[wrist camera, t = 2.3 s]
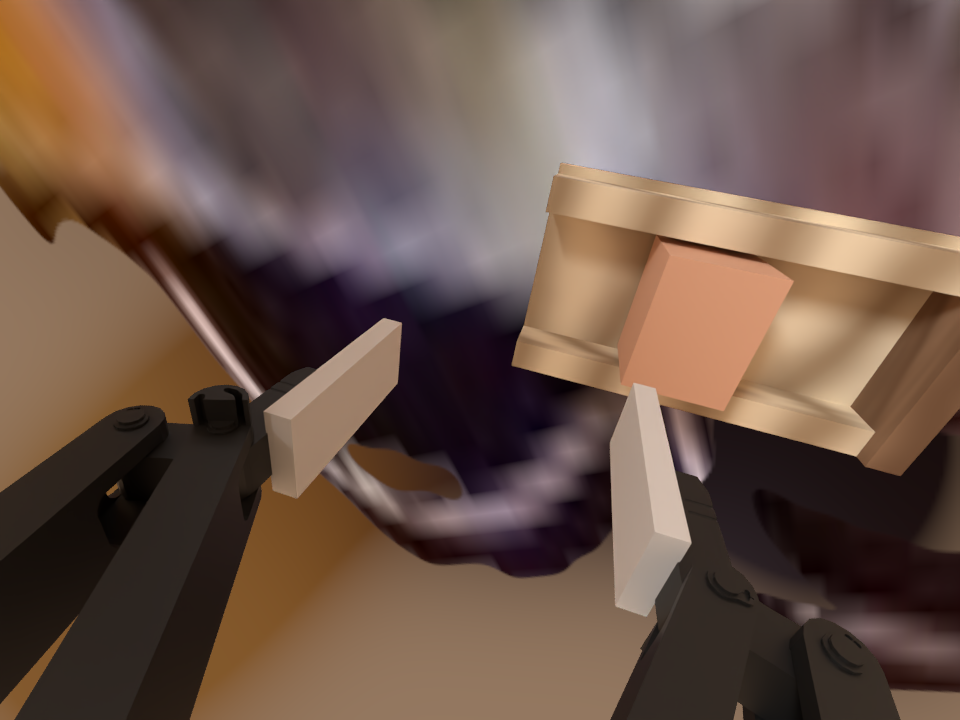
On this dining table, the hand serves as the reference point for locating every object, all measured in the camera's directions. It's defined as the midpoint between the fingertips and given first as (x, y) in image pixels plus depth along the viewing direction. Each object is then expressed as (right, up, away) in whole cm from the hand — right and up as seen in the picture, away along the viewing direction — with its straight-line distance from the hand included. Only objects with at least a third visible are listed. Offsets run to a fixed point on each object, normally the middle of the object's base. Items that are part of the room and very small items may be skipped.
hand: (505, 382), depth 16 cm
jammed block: (+13, +5, +12) cm, 18 cm away
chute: (+15, +5, +13) cm, 21 cm away
